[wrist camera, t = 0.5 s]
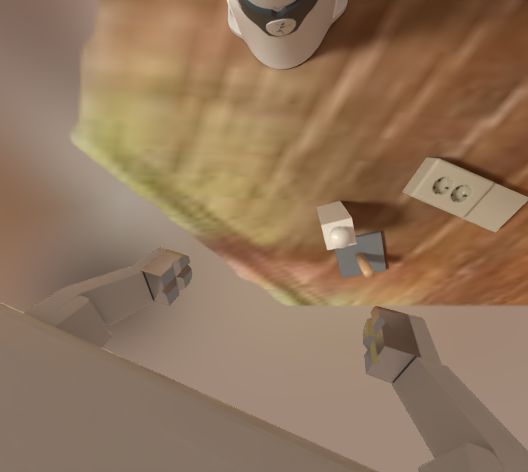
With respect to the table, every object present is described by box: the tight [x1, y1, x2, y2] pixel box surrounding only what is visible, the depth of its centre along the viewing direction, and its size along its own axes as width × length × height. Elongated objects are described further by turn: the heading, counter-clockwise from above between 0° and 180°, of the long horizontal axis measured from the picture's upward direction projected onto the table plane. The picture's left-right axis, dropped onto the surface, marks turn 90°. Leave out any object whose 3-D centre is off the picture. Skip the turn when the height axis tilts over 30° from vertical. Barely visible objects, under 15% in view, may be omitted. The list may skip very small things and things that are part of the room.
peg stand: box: [335, 231, 386, 278], centre depth 44 cm, size 10×10×8 cm
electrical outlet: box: [403, 157, 528, 232], centre depth 38 cm, size 7×4×18 cm
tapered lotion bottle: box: [317, 201, 357, 250], centre depth 39 cm, size 5×5×13 cm
